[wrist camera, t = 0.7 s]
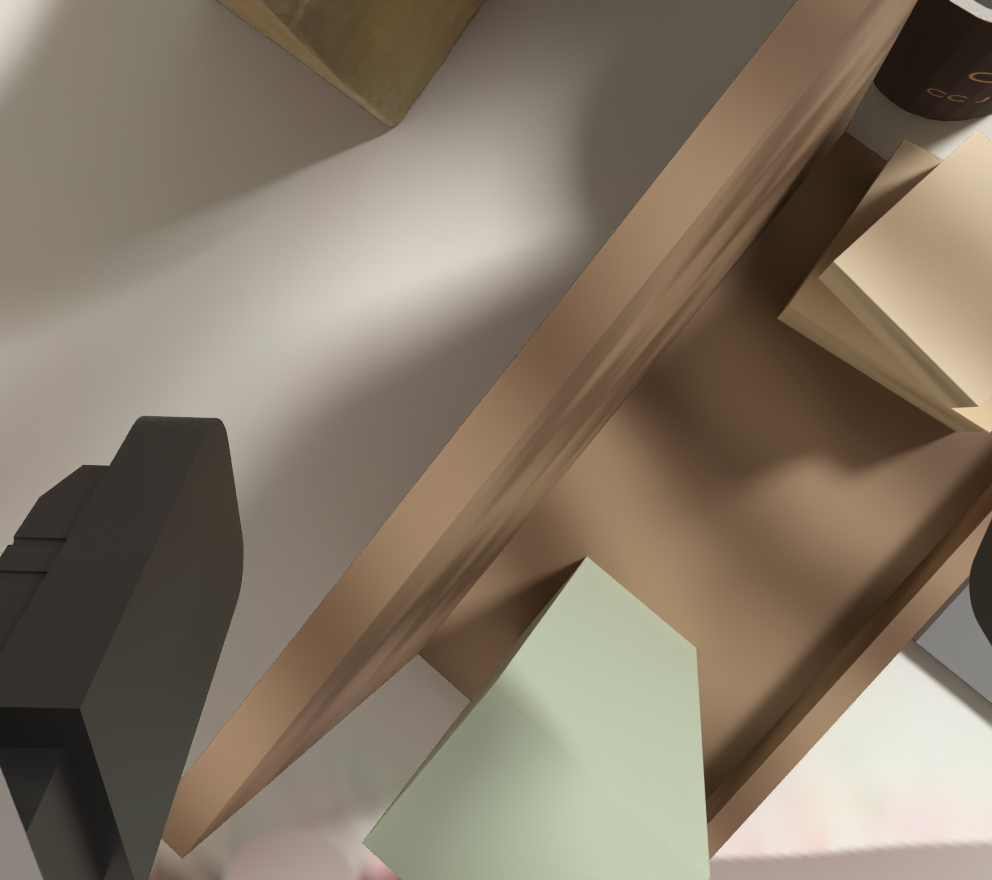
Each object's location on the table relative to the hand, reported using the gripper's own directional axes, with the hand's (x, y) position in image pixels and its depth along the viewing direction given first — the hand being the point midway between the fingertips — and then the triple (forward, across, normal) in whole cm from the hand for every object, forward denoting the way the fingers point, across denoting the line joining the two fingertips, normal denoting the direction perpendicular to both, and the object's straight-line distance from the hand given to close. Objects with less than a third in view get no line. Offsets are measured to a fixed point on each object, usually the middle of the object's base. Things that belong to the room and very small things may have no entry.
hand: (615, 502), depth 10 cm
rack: (+19, -8, +14) cm, 25 cm away
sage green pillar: (+16, -4, +19) cm, 25 cm away
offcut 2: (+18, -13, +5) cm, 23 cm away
